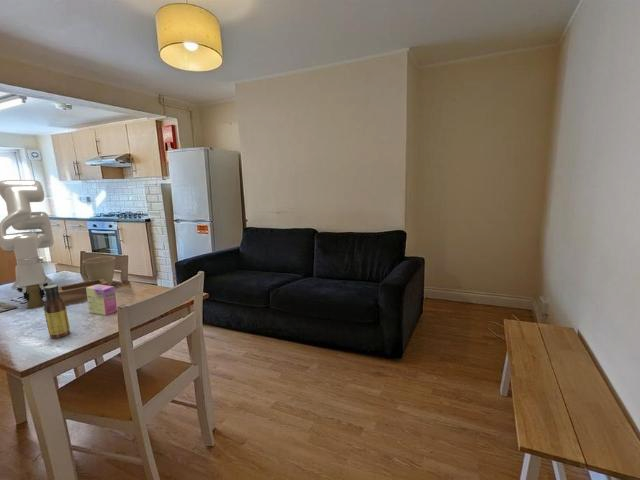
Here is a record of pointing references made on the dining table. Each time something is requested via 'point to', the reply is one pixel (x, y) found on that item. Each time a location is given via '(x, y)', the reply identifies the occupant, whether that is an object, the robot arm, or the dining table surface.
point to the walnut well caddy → (77, 291)
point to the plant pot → (100, 268)
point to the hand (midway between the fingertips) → (34, 298)
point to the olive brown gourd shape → (34, 296)
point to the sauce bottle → (55, 313)
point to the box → (101, 299)
